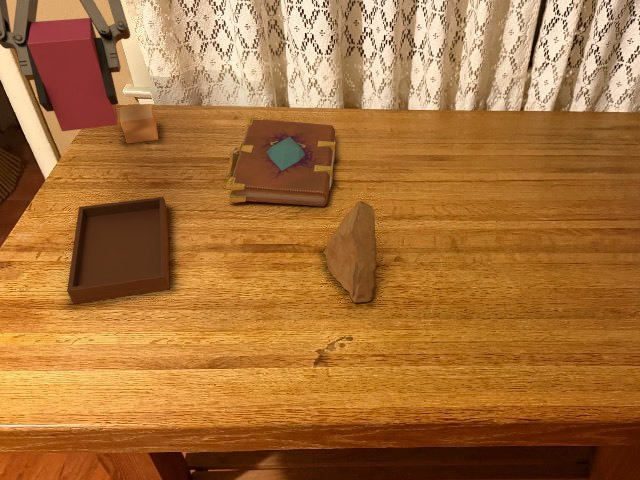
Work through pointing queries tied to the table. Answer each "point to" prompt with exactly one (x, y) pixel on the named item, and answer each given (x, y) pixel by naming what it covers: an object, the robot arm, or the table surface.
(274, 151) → the book
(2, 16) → the robot arm
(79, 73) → the top block
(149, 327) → the table surface
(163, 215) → the tray
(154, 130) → the base block
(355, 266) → the rock
